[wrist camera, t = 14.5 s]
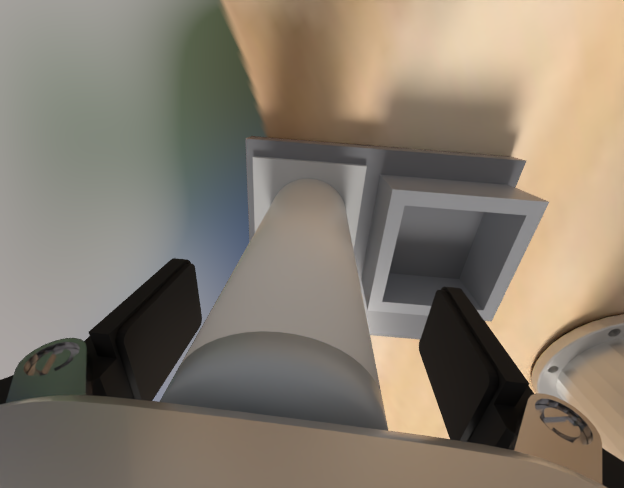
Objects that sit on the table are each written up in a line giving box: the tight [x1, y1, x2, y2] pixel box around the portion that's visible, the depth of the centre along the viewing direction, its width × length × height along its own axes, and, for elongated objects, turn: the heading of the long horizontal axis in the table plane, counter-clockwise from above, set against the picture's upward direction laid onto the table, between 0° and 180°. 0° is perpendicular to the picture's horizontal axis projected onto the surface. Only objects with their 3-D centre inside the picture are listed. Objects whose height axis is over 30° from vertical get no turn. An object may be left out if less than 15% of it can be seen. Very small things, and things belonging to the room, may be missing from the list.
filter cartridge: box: [160, 178, 388, 431], centre depth 12 cm, size 5×5×14 cm
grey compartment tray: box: [246, 136, 549, 339], centre depth 19 cm, size 17×15×5 cm
